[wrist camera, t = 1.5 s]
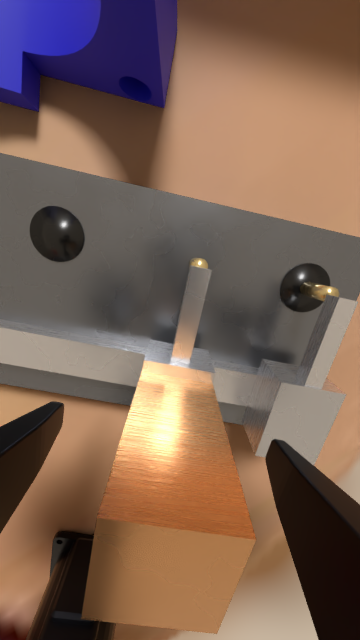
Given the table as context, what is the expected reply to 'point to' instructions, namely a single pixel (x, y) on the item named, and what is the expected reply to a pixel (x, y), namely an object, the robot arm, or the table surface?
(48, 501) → the table surface
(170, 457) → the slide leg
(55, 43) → the cable clip
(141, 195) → the plate
